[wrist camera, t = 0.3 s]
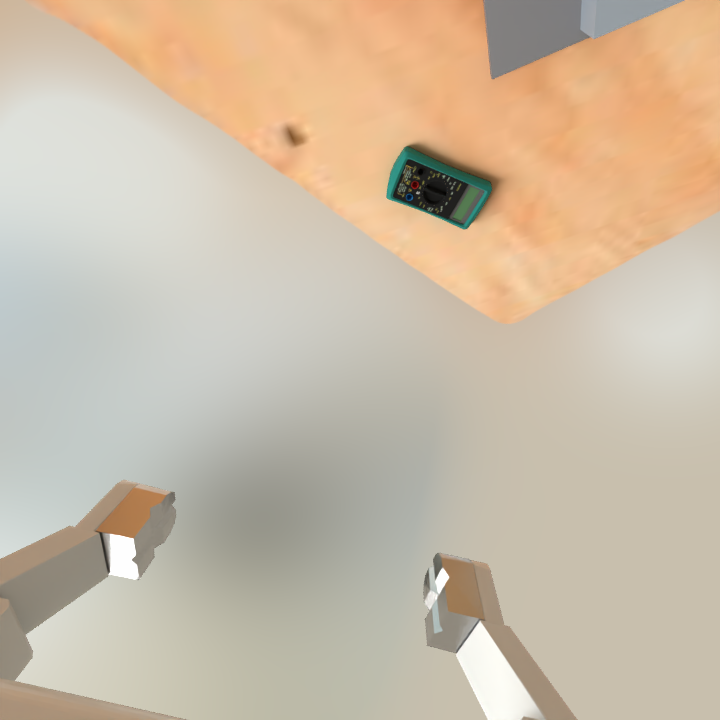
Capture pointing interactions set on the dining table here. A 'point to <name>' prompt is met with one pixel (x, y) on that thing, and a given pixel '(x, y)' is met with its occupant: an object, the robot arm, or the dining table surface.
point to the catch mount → (553, 26)
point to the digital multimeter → (437, 188)
